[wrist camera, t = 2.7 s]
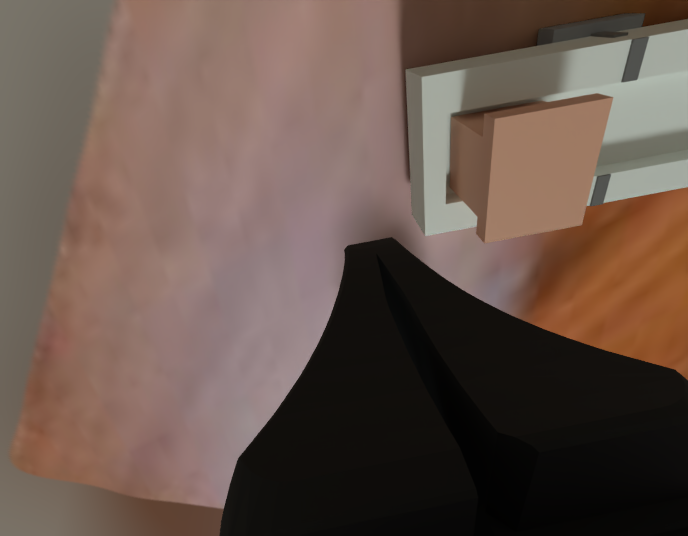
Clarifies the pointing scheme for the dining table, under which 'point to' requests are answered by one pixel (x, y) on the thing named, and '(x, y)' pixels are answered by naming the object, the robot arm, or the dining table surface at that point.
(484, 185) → the rider
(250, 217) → the dining table surface
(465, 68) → the beam
